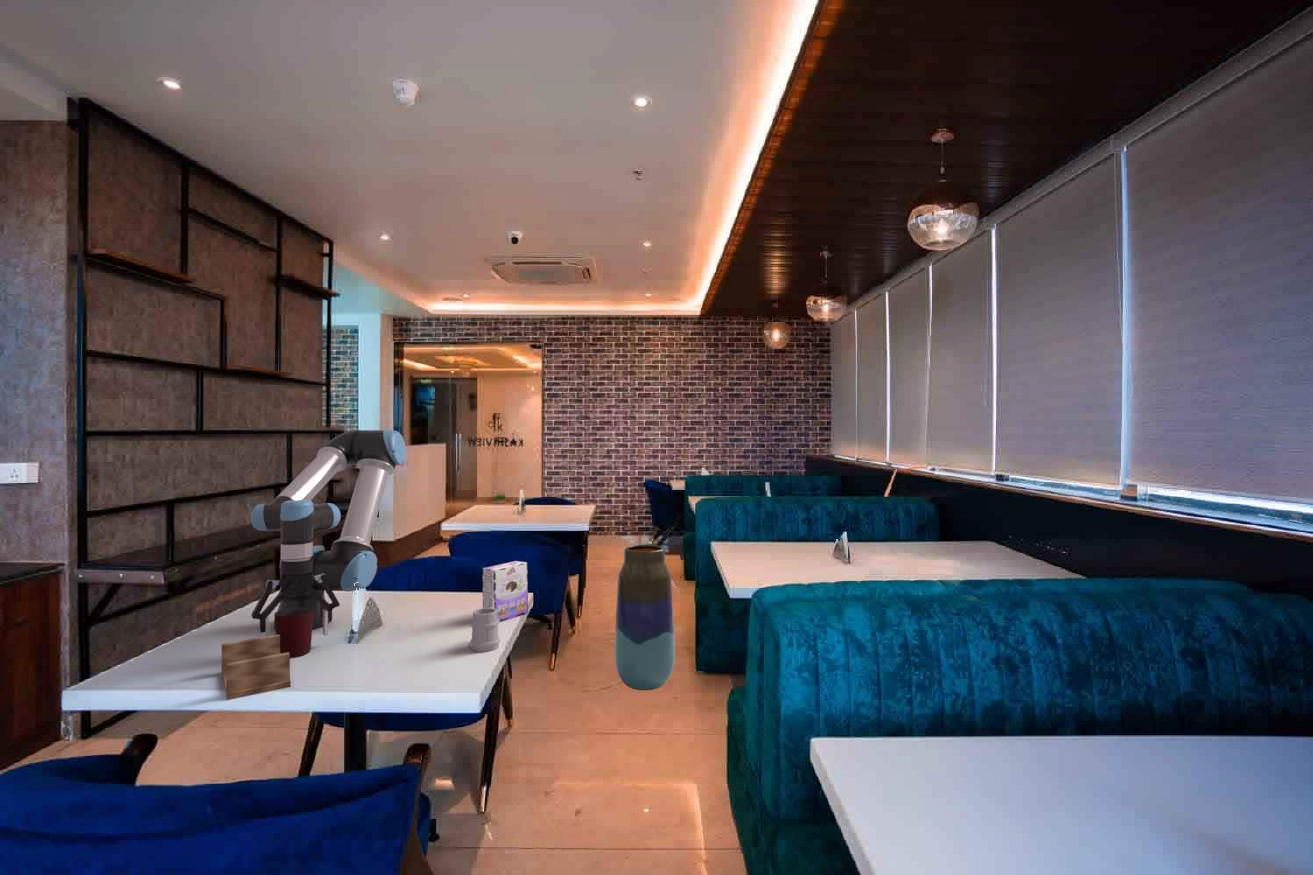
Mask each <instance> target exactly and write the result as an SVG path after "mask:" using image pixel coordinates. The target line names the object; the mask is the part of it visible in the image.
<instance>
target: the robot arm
mask: <svg viewBox="0 0 1313 875" xmlns="http://www.w3.org/2000/svg"><path fill="white" fill-rule="evenodd" d="M406 458H407V446H406V443H405V440H404V437H403V435H402V434H401V433H400V431H397V430H392V429H391V430H390V429H382V430H381V429H379V430H376V429H373V430H372V429H370V430H369V429H364V430H363V429H362V430H360V429H353V430H348V431H347V432H343V433H341V434H339V435H337V436H335V437H333V438H332V439H331V440H329V441H327V442H326V443H325V444H324V445H322V447H321V448H320V449H319V450H318V451H317V454H316V457H315V458H314V459H313V461H311V462H310V464H308V466H306V467H305V468H304V469H303V470H302V471H301V473H299V474H298V475H297V476H296V477H295V478H294V479H293V480H292V481H291V482H290V484H288V485H287V486H286V487H285V488H284V489H283V490H282V491H281V492H280V493H279V494H278V495H277V496H276V497H275V498H274V499H273V500H272V501H271V502H270V503H261V504H257V505H256V506H254V508H253V509H252V511H251V513H250V523H251V525H252V527H253V528H254V529H255V530H256V531H264V532H265V531H266V532H280V560H279V579H277V580H276V579H275V580H274V579H273V580H271V579H267V580H266V581H265V582H266V583H265V589H264V590H263V592H262V594H261V596H260V598H259V599H258V602H257V603H256V605H255V607H254V608H253V610H252V613H251V618H252V619H254V620H259V631H260V633H264V637H266V636H270V618H269V615H270V614H272V612H273V611H274V610H275V608H277V611H280V610H283V609H288V608H295V607H310V608H313V626H312V630H314V629H318V628H320V627H321V628H322V634H323V636H324V637H325V636H329V624H330V623H331V622H332V621H333V610H334V609H336V608H339V607H340V606H341V605H340V602H339V600H338V599H337V597H336V595H335V593H334V592H333V591H335V592H336V591H337V592H339V591H340V592H341V591H342V592H348V593H349V592H353V591H354V592H356V591H355V590H356V588H357V590H359V588H360V589H361V588H362V589H363V590H364V589H366V588H367V587H368V586H370V585H371V583H372V582H373V580H374V578H375V576H376V573H377V570H378V557H377V556H376V553H374V548H373V546H372V545H371V541H372V536H373V533H374V529H375V525H376V521H377V517H378V514H379V510H380V506H381V503H382V500H383V496H384V492H385V488H386V485H387V480H388V477H389V476H391V475H394V473H395V470H396V466H402V465H403V464H404V463H405V460H406ZM355 465H356V467H357V468H358V469H359V473H358V475H357V476H358V477H357V480H356V482H355V486H354V490H353V493H352V496H351V500H350V504H349V506H348V510H347V513H346V517H345V520H344V523H343V527H342V530H341V533H340V537H339V539H336V540H335V541H333V543H332V545H331V548H330V550H325V549H326V548H325V546H324V545H314V533H319V532H322V531H328V530H331V529H333V528H335V527H336V526H338V524H339V523H340V521H341V519H342V516H341V514H342V513H341V511H340V509H339V507H338V506H337V505H336V504H334V503H331V502H328V503H327V502H321V503H316V504H315V503H313V501H312V500H313V498H315V496H316V495H317V494H319V492H320V491H321V490H322V489H323V488H324V487H325V486H326V485H327V484H328V483H329V482H330V480H331V479H332V478H333V477H334V476H336V474H337V473H339V472H342V471H344V470H345V469H346V468H347V467H350V466H355ZM356 582H359V583H356ZM354 583H356V584H355V586H354ZM278 585H279V588H280V590H279V591H278V593H277V594H276V596H275V597H274V598H273V599H272V600H271V602H270V603H269V604H268V605H267V606H266V607H265V604H266V603H267V601H268V599H269V598H270V595H271V593H272V591H273V590H274V589H276V587H277V586H278ZM352 590H353V591H352ZM359 591H360V590H359ZM325 593H326V594H327V596H328V598H329V599H330V601H331V602H330V603H329V602H328V601H327V600H326V598H325ZM277 606H278V607H277ZM264 607H265V608H264ZM263 608H264V610H263V611H262V609H263ZM277 611H276V612H277ZM273 629H274V630H275V618H274V619H273Z"/></svg>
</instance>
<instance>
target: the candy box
mask: <svg viewBox="0 0 1313 875" xmlns="http://www.w3.org/2000/svg"><path fill="white" fill-rule="evenodd" d="M528 581H529V580H528V562H526V561H518V560H514V561H509V562H505V563H501V564H497V565H492V566H488V567H482V608H483V609H484V608H489V602H490V597H494V605H495V609H496V610H497V618H498V620H499V623H500V622H503V621H506V620H511V619H512V618H513V619H514V618H516V617H519V616H522V615H525V614H528V613H529V600H528V599H529V596H528V595H529V594H528V593H529V589H528V584H529V583H528Z"/></svg>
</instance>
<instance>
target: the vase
mask: <svg viewBox="0 0 1313 875" xmlns="http://www.w3.org/2000/svg"><path fill="white" fill-rule="evenodd" d="M623 549H624V550H623V563H622V566H621V568H620V570H619V572H618V575H617V587H616V588H617V589H616V605H615V606H616V610H615V611H616V612H615V633H614V665H615V671H616V673H617V675H618V677H619V678H620V681H622V682H623V684H624V685H625V686H627V687H628V688H629V689H633V690H636V691H652V690H656V689H659V688H662V687H663V686H664V685H666V684H667V681H669V679H670V678H671V675H672V674H673V671H674V667H675V659H676V643H675V642H676V641H675V638H676V637H675V622H674V621H675V620H674V607H673V589H672V588H673V587H672V574H671V572H670V569H669V567H668V566H667V564H666V555H665V554H666V553H665V552H666V549H665V547H663V546H661V545H657V544H656V545H655V544H634V545H629V546H626V547H625V548H623Z"/></svg>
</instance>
